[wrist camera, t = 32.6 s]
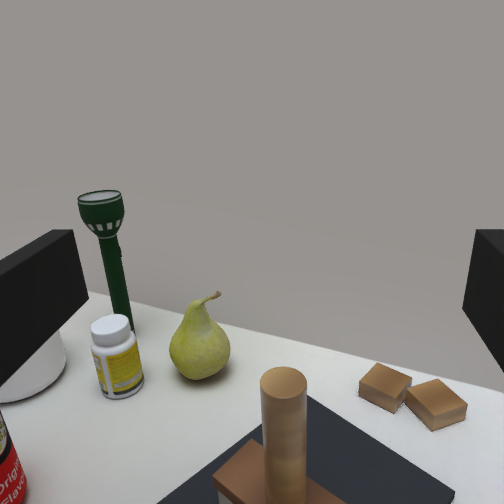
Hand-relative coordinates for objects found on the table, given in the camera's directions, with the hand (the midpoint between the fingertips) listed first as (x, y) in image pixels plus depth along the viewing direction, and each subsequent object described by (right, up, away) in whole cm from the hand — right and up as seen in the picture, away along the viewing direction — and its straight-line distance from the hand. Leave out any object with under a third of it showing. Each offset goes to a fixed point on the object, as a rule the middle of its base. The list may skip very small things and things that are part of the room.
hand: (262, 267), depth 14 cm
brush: (+2, -20, +16) cm, 26 cm away
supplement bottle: (-15, -15, +34) cm, 40 cm away
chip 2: (+18, -16, +28) cm, 37 cm away
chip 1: (+14, -15, +30) cm, 36 cm away
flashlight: (-18, -11, +43) cm, 48 cm away
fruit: (-6, -14, +35) cm, 38 cm away
